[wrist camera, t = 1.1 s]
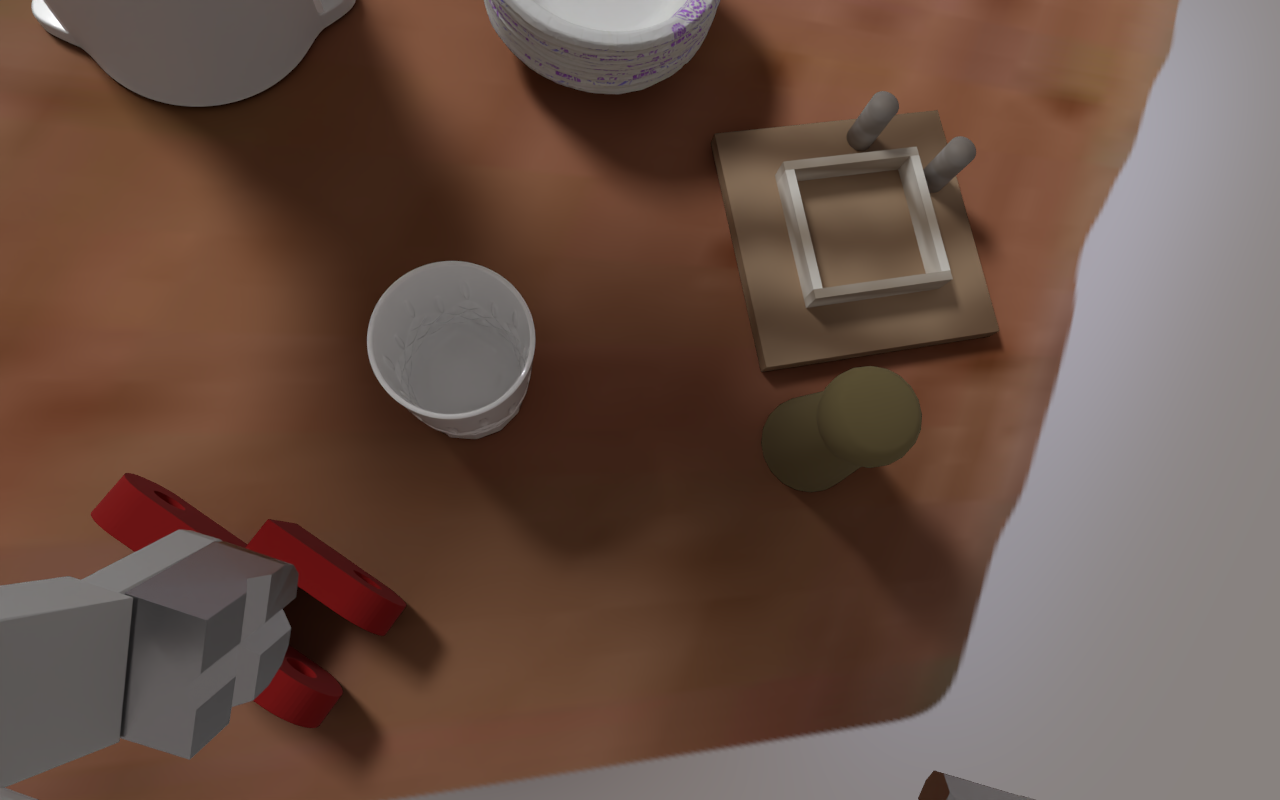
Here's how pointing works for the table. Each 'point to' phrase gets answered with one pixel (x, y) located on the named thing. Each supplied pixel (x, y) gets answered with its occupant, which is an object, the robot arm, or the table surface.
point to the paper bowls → (603, 39)
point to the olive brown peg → (842, 429)
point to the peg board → (853, 236)
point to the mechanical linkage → (156, 512)
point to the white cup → (454, 347)
